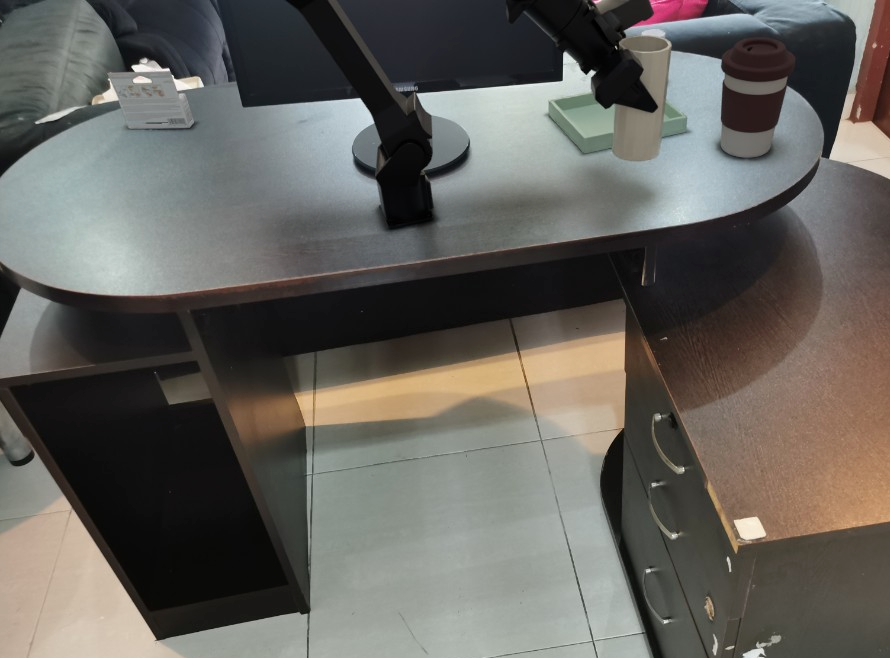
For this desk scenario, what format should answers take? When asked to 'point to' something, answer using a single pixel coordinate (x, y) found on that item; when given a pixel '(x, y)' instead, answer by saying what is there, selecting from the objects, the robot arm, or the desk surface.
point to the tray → (600, 121)
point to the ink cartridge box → (151, 100)
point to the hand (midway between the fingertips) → (650, 98)
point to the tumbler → (638, 128)
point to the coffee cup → (753, 94)
